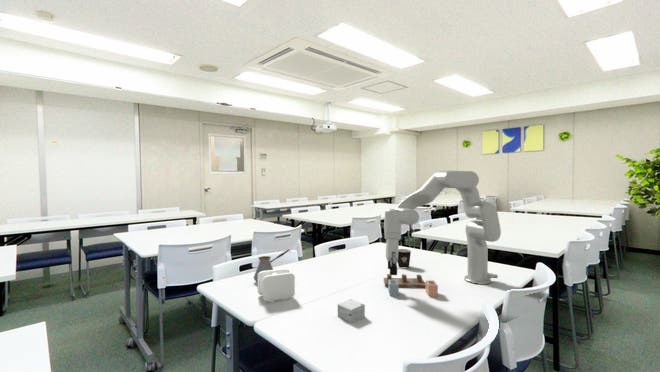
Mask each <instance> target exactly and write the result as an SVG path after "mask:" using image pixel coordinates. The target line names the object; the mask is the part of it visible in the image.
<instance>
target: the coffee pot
mask: <svg viewBox="0 0 660 372" xmlns="http://www.w3.org/2000/svg"><path fill="white" fill-rule="evenodd" d="M287 253H290V254H291V253H292V252H291V249H287V250H284V252H282V253H280V254H279V255H277V256H276V257H275V258H273V259H271V258H272V256H270V255H269V256H267V255H266V256H264V255H263V256H259V257H258V260H259V263H258V265H257V268H256V270H255V273H254V274H253V280H254V281H255V282H258V278H257V275H258V273H259V272H261V271H267V270H274V268H273V266H272V264H271V263H273V262H274V261H275V260H277V259H279V258H281V257H282V256H284V255H285V254H287Z"/></svg>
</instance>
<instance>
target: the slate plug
mask: <svg viewBox="0 0 660 372" xmlns="http://www.w3.org/2000/svg"><path fill="white" fill-rule="evenodd" d="M399 289H400V287H399V284H398V282H397V280H388V287H387V291H388V295H389V296H390V297H399V293H400V292H399Z"/></svg>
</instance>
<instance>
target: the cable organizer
mask: <svg viewBox="0 0 660 372" xmlns="http://www.w3.org/2000/svg"><path fill="white" fill-rule="evenodd" d="M257 278H258V283H257V294H258V295H259V296H262V298H263V300H264V301H265V302H268V303H271V302H272V301H273V302H277V301H278V300H279V301H280V300H283V301H285V299H286V300H290V299H292V298H293V297H294V296H295V294H296V289H295V288H296V285H295V283H296V281H295V280H296V279H295V278H296V277H295V274H294V273H293V272H290V270H289V269H288V268H284V267H283V268H277V269H273V270H267V271H261V272H259V273H258V275H257Z"/></svg>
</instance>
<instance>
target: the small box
mask: <svg viewBox="0 0 660 372" xmlns="http://www.w3.org/2000/svg"><path fill="white" fill-rule="evenodd" d="M365 306H366V305H365V304H364V303H362V302H359V301H358V300H353V299H351V298H350V299H347V300H345V301H342V302H339V303H337V317H339V318H340V319H343V320H344V321H347V322H349V323H351V324H353V323H354V322H356V321H359V320H361V319H362V318H365V313H366V307H365Z"/></svg>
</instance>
